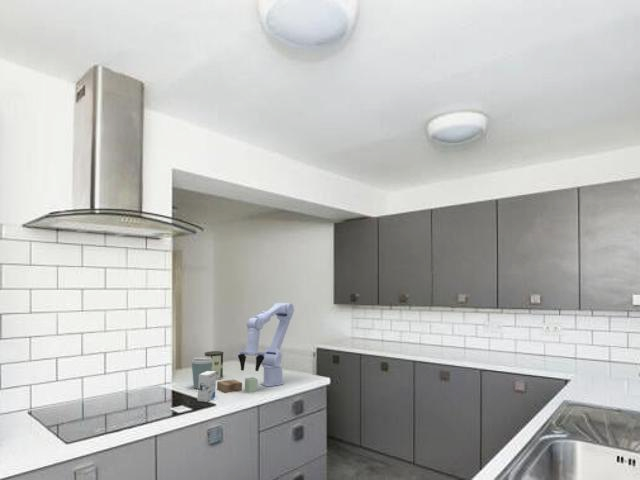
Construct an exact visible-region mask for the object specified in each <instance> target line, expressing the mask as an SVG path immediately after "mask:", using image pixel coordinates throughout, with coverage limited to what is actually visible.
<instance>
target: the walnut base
mask: <svg viewBox="0 0 640 480" xmlns="http://www.w3.org/2000/svg"><path fill="white" fill-rule="evenodd" d="M216 383H217V388H216V389H217V391H219V392H222V393H224V394H227V393H228V394H229V393H235V392H241V391H243V382H241V381H239V380H236V379H228V380H221V381H217V382H216Z"/></svg>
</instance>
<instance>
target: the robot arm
mask: <svg viewBox="0 0 640 480" xmlns="http://www.w3.org/2000/svg"><path fill="white" fill-rule="evenodd" d="M294 312H295V309H294V305H293V303H292V302H276V303H274V304H273V306H271V308H269V309H267V311H266V310H263V311H260V313H259V314H257V315H255V316H254V317H250V318H249V319H248V320H247V322H246V327H247V342H246V350H236V355H237V357H238V361H239V363H240V371H245V365H246V364H245V362H246V359H247V356H255V367H254V368H255V372H259V369H260V368H261V365H262V368H263V382H260V383H259V384H260V385H263V386H265V387H274V386H280V385H284V383H283V368H282V367H281V363H282V359H283V358H282V357H283V354H282V352H281V347H282V344H283V342H284V339H285V336H286V333H287V331H288V328H289V326H290V323H291V320H292V317H293V314H294ZM273 316H276V319H278V321H279V322H278V326H277V328H276V331H275V332H274V336H273V337H272V341H271V342H270V345H269V347H268V348H266V349H265V350H264V351H259V344H260V343H259V342H260V335H261V334H260V333H261V330H262V329H263V327H264V326H265V325H266V324H267V323H268V322H269V321H271V318H272V317H273Z"/></svg>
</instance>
